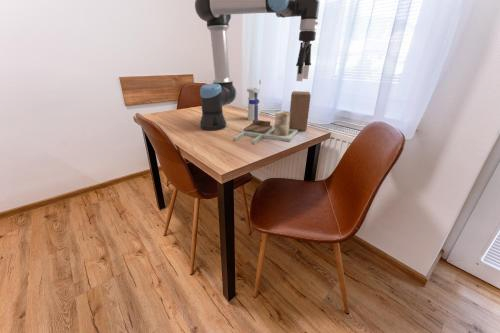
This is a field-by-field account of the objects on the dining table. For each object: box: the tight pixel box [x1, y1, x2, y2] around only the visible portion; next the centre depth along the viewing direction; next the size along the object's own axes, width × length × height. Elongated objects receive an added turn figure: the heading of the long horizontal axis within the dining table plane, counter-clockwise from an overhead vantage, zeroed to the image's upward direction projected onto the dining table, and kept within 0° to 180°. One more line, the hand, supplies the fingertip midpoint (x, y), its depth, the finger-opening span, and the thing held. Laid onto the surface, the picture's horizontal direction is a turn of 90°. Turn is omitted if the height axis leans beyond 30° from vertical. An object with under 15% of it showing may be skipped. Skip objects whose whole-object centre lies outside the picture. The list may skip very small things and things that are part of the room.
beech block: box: [273, 110, 290, 137], centre depth 113 cm, size 6×6×12 cm
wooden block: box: [289, 90, 311, 132], centre depth 123 cm, size 10×10×20 cm
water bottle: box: [246, 80, 262, 121], centre depth 141 cm, size 8×9×25 cm
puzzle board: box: [233, 126, 299, 145], centre depth 114 cm, size 27×26×2 cm
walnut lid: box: [243, 119, 273, 133], centre depth 119 cm, size 12×12×3 cm
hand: (302, 80), depth 111 cm, fingers open, 13 cm apart
